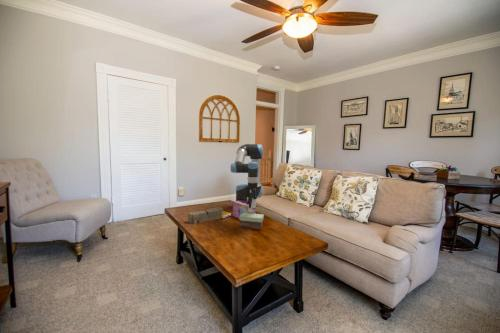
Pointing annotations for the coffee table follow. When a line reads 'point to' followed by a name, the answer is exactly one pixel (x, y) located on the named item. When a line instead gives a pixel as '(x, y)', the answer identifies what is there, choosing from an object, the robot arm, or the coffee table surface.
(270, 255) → the coffee table surface
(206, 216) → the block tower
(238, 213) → the gum box
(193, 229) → the coffee table surface
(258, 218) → the lid
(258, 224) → the crate
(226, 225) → the coffee table surface
